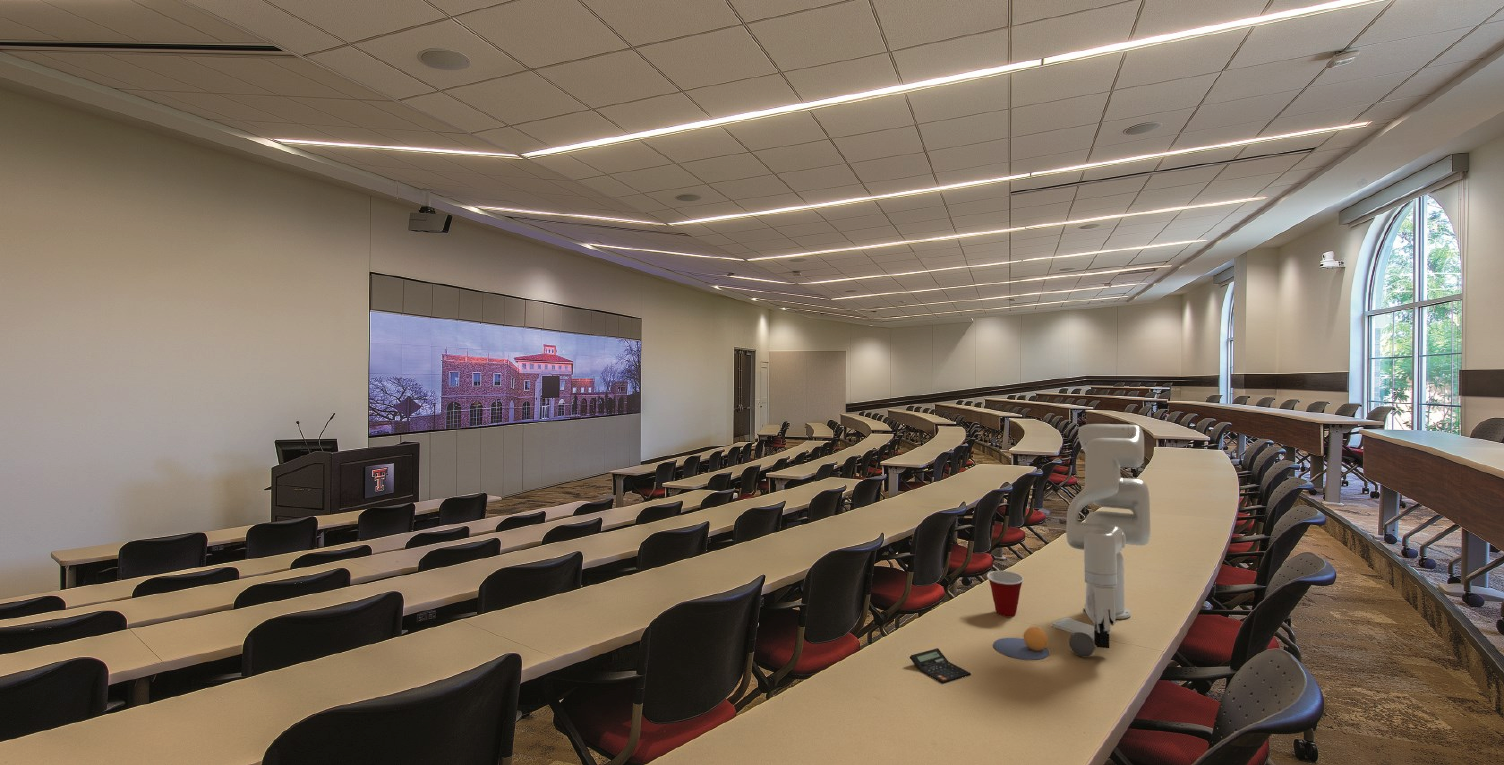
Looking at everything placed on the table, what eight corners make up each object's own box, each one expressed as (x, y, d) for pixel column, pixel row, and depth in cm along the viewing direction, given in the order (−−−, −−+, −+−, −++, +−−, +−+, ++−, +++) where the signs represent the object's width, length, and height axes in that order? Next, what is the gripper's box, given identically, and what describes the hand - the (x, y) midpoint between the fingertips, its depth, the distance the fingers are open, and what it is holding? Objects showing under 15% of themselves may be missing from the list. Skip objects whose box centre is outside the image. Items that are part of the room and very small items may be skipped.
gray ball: (1093, 636, 167) (1077, 651, 168) (1076, 623, 166) (1060, 638, 168) (1103, 650, 161) (1086, 666, 162) (1086, 637, 160) (1069, 653, 162)
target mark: (990, 636, 177) (990, 635, 177) (1043, 640, 174) (1043, 640, 174) (996, 657, 164) (996, 656, 164) (1054, 662, 160) (1054, 661, 160)
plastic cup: (987, 617, 192) (986, 578, 192) (987, 606, 202) (987, 569, 202) (1025, 622, 188) (1024, 582, 188) (1024, 610, 198) (1023, 572, 198)
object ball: (1047, 644, 170) (1023, 646, 172) (1043, 623, 170) (1020, 624, 172) (1052, 654, 164) (1028, 655, 166) (1048, 631, 165) (1024, 633, 166)
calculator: (942, 685, 150) (942, 672, 150) (909, 666, 160) (909, 654, 160) (970, 676, 154) (970, 664, 154) (936, 658, 164) (936, 647, 164)
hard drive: (1051, 623, 185) (1093, 636, 174) (1067, 617, 189) (1108, 629, 179) (1051, 628, 185) (1093, 642, 174) (1067, 622, 189) (1108, 635, 179)
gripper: (1077, 568, 173) (1078, 634, 173) (1093, 586, 158) (1094, 657, 158) (1107, 570, 171) (1108, 636, 171) (1125, 587, 156) (1127, 660, 156)
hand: (1101, 646), depth 165 cm, fingers closed
